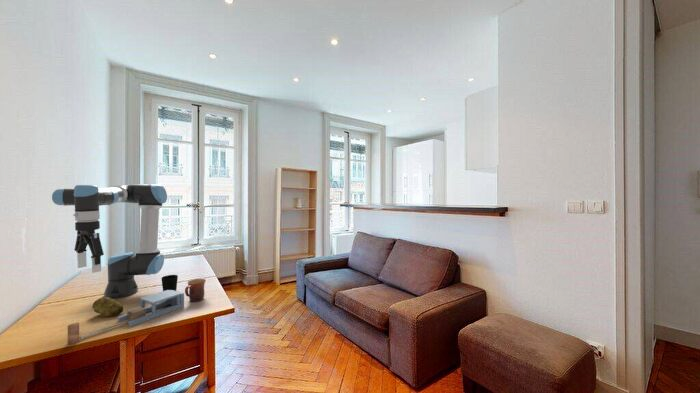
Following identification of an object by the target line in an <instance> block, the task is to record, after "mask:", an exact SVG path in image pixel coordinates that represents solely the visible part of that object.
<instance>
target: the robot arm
mask: <svg viewBox="0 0 700 393" xmlns="http://www.w3.org/2000/svg"><path fill="white" fill-rule="evenodd" d="M51 200H52V202H53V203H54V205H56V206H64V207H66V206H74V213H73V215H72V216H73V217H74V220H75V221H76V222H75V223H74V227H75V229H74V230H75V231H76V241H75V245H74V251H75V252H76V254H77V255H76V258H77V260H76V261H77V269H81V268H86V267H87V262H88V261H87V251H88V249H87V247H89V250H90V253H91V256H90V258H91V273H92V274H95V273H99V272H102V258H101V257H102V256H104V249H103V246H102V245H103V244H102V243H101V239H100V233H99V232H96V231H97V230H99V229H100V228H101V226H100V216H101V214H100V206H110V205H113V204H116V203H117V204H118V203H128V204H138V205H137V206H138V207H139V208H140V209H141V212H140V216H141V217H140V229H139V230H140V232H139V248H138V250H137V251H136V252H132V251H131V252H125V253H124V252H123V253H119V254H115V255H112V256H109V257H108V259H107V284H106V287H105V289H104V291H103V292H104V293H103V297H108V298H111V299H118V298H123V297H128V296H131V295H133V294H136V293H137V292H138V291H139V286H138V284H137V282H136V280H135V276H146V275H147V276H151V275H157V274H159V273H160V272H161V271H162V269H163V267H164V263H165V256H164V254H162V253H161V250H160V249H159V248H158V240H159V219H160V208H162V207H163V204H165V203H166V202H167V200H168V194H167V191H166V188H165V186H163V185H161V184H159V183H158V184H157V183H155V184H154V183H131V184H123V185H115V186H112V187H99V185H95V184H78V185H77V184H76V185H75V186H74V188H58V189H55V190H54V191H53V192H52V194H51Z"/></svg>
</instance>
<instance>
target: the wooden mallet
mask: <svg viewBox="0 0 700 393" xmlns="http://www.w3.org/2000/svg"><path fill="white" fill-rule="evenodd" d="M145 308H146V307H145ZM145 308H142V307H141V306H137V307H134V308H131V309H129V310H127V311H126V314H127V320H124V321H121V322H118V323H114V324H112V325H108V326H106V327H103V328H100V329H97V330H94V331H91V332H88V333H85V334H83V335H80V322H74V323H70V324H68V325H67V345H70V346H71V345H74V344H77V343H79V342H80V339H84V338H86V337H90V336H92V335H96V334H98V333H101V332H104V331H106V330H110V329H113V328H115V327H118V326H121V325H124V324H127V323H128V322H129V321H131V320H134V319H137V318H140V317H142V316H145V315H146V313H145Z"/></svg>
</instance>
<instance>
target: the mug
mask: <svg viewBox="0 0 700 393" xmlns="http://www.w3.org/2000/svg"><path fill="white" fill-rule="evenodd" d="M205 284H206V279H205V278H195V279H191V280H188V282H187V286H185V288H184V295H185V296H186V297H188V300H189V301H190V302H200V301H201V300H203V299H205V298H204V297H205Z"/></svg>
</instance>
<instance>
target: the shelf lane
mask: <svg viewBox="0 0 700 393" xmlns="http://www.w3.org/2000/svg"><path fill="white" fill-rule="evenodd" d="M139 300H140V307H142V308H145V316H142V317H140V318H137V319H134V320H131V321H129V322H127V323H128V327H130V328H131V327H133V326H137V325H139V324H141V323H145V322H148V321H149V320H152V319H155V318H158V317H160V316H162V315H165V314H168V313H171V312H173V311H174V312H175V311H176V310H179V309H181V308H184V307H185V292H181V291H178V290H176V291H174V290H166V291H163V290H162V291H160V292H157V293H153V294H150V295H147V296H142V297H140V298H139ZM146 303H147V304H150V305H149V306H146ZM169 305H171V306H169ZM166 306H168V307H166ZM163 307H166V308H163ZM158 309H160V310H158ZM149 312H151V313H149ZM146 313H148V314H146ZM126 320H127V313H126V314H122V315H118V316H117V322H118V323H120V322H123V321H126Z"/></svg>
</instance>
